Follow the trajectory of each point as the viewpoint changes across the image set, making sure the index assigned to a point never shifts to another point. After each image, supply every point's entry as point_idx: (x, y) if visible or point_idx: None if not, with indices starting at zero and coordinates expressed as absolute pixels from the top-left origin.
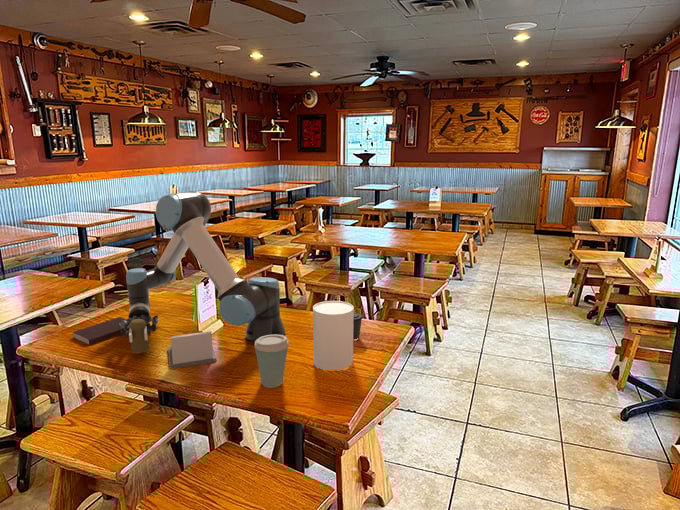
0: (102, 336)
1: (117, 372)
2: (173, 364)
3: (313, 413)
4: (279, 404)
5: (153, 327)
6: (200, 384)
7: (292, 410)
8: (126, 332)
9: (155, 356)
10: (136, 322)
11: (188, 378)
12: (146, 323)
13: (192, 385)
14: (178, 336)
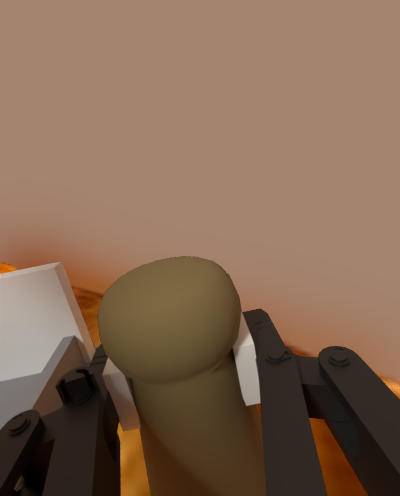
0: None
1: (286, 346)
2: (94, 350)
3: (3, 268)
4: None
5: (46, 427)
6: (77, 302)
7: (16, 270)
8: (267, 321)
9: (138, 474)
10: (169, 258)
11: (87, 318)
12: (76, 468)
13: (93, 300)
14: (29, 270)
